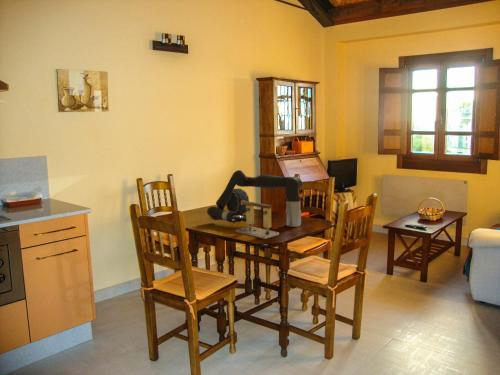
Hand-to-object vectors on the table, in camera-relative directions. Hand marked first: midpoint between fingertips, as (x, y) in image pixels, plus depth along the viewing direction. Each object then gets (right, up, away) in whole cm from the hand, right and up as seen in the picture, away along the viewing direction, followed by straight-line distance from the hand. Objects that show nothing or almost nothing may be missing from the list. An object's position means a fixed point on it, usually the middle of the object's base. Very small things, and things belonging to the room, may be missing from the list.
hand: (248, 220), depth 303 cm
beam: (+5, +9, -6) cm, 12 cm away
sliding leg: (+1, -6, 0) cm, 6 cm away
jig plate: (+6, -8, -4) cm, 11 cm away
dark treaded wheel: (-9, 0, +54) cm, 54 cm away
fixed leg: (+12, -8, -11) cm, 18 cm away
